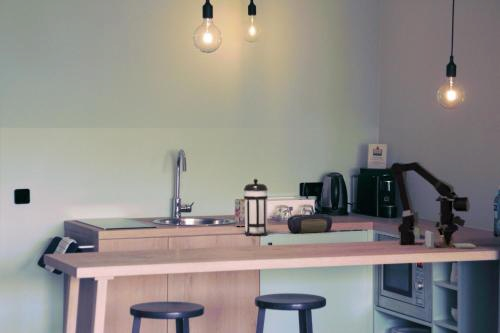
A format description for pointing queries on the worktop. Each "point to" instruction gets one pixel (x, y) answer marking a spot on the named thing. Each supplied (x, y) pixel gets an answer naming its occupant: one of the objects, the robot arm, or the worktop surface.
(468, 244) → the coaster
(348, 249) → the worktop surface
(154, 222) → the worktop surface
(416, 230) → the beverage carton
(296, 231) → the portable speaker
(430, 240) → the screen
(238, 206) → the candy bar box
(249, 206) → the coffee press
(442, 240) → the letter cube
